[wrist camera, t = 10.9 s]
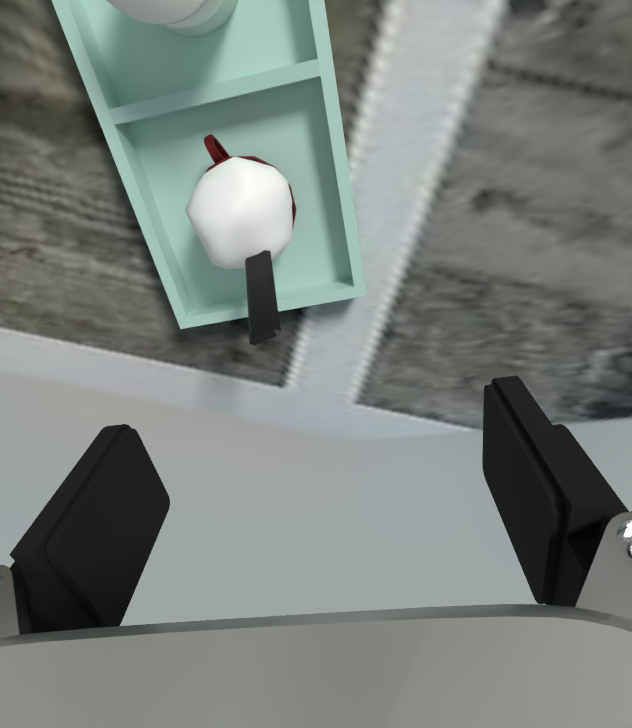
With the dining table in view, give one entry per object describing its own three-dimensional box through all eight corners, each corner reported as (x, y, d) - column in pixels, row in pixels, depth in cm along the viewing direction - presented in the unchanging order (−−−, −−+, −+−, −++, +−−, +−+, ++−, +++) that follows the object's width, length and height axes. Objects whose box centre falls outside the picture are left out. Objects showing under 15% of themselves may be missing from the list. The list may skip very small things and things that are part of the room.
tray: (287, -238, 20) (281, -290, 18) (363, 281, 33) (367, 295, 30) (18, -152, 22) (-23, -188, 19) (191, 313, 35) (180, 329, 32)
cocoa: (199, 136, 28) (111, 134, 17) (296, 130, 27) (268, 125, 17) (221, 279, 32) (162, 349, 21) (305, 277, 32) (287, 346, 21)
